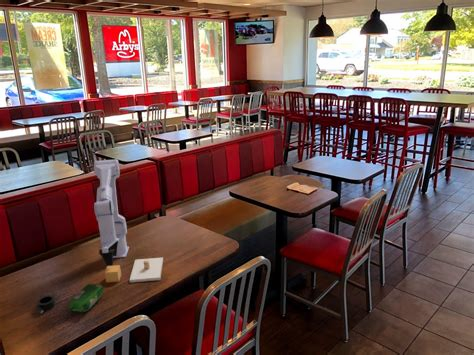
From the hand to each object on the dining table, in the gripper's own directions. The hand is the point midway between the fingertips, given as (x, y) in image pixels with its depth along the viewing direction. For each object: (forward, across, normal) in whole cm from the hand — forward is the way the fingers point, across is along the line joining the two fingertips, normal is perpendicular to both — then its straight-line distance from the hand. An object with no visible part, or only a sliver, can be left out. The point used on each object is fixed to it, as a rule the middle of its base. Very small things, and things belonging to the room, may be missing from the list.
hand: (111, 260), depth 153 cm
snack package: (+9, -16, +6) cm, 19 cm away
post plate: (+8, +4, -13) cm, 16 cm away
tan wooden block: (+8, 0, 0) cm, 8 cm away
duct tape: (+9, -15, +21) cm, 27 cm away
